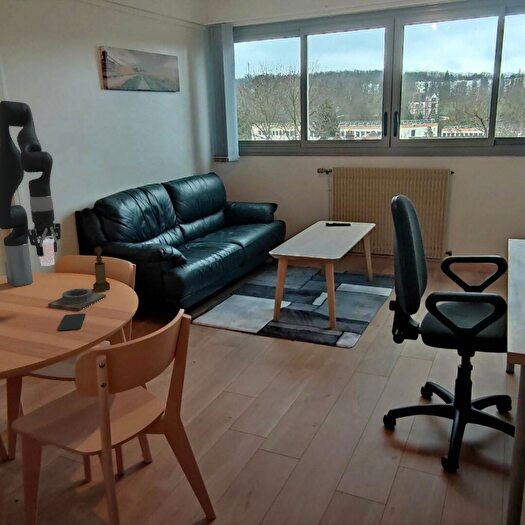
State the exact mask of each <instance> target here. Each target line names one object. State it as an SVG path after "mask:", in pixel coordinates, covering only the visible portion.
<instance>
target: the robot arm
mask: <svg viewBox="0 0 525 525" xmlns="http://www.w3.org/2000/svg"><path fill="white" fill-rule="evenodd" d="M10 127H15V128H21V129H20V130H19V132H18V134H17V135H16V136H17V137H16V142H17V145H18V147H19V149H20V150H19V149H18V147H17V146H16V144H15V142H14V140H13V138H12V136H11V133H10ZM53 163H54V161H53V157H52V155H51V154H50V153H49V152H47V151H43V150H42V146H41V143H40V141H39V138H38V136H37V133H36V126H35V121H34V117H33V114H32V109H31V107H30V106H29V104H27V103H25V102H22V101H21V102H20V101H12V100H0V229H1V230H3V231H4V230H5V231H6V230H11V232H10V233H9V234H8V235H6V236H5V237H4V238H3V247H4V253H5V260H6V261H5V262H4V268H5V275H6V281H7V285H9V286H12V287H23V286H28V285H30V284H32V283H33V282H34V279H33V278H34V277H33V272H32V271H33V270H32V264H31V263H32V262H31V255H30V247H29V243H30V246H32V247H35V249H36V251H35V252H36V256H37V257H39V256H40V257H42V256H44V252H43V246H42V244H43V241H44V240H45V239H46V238H47V239H54V243H53V244H54V253H57V252H58V241H59V240H61V236H62V234H61V223H59V222H58V223H56V222H55V209H54V203H53V202H54V201H53V197H52V192H51V177H52V175H51V174H52V171H53V165H54V164H53ZM25 173H29V174H30V173H41V175H40V176H39V177H37V178H34V179H30V180H29V181H28V193H29V205H30V215H31V221H32V223H33V224H34V226H33V228H32V229H29V218H28V213H27V211H26V208H24V206H23V205H20V204H15V205H12V202H13V199H14V198H13V197H14V195H15V194H16V192H17V191H18V188H20V186H21V183H23V180H24V176H25ZM39 240H40V242H39ZM38 242H39V243H38ZM40 257H39V258H40ZM27 284H28V285H27Z"/></svg>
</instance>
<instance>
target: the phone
mask: <svg viewBox="0 0 525 525" xmlns="http://www.w3.org/2000/svg"><path fill="white" fill-rule="evenodd" d="M85 318H86V313H70V314H65V315H63V317H62V319H61V320H60V323H59V325H58V327H57V332H68V331H69V332H71V331H80V330H81V329H82V326H83V323H84V321H85Z"/></svg>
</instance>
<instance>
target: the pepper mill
mask: <svg viewBox="0 0 525 525" xmlns="http://www.w3.org/2000/svg"><path fill="white" fill-rule="evenodd" d="M93 250H94V254H95V255H96V257H95V259H96V262H95V263H94V270H95V271H94V272H95V282H94V283H93V284H92V289H93V290H92V291H94V292H96V291H98V292H97V293H101V292H100V291H104V292H107V291H106V290H108V291H110V289H111V285H110V282H109V281H107V276H106V275H107V274H106V264H105V262H104V261H102V260H103V256H102V253H103V248H102V247H101V246H95V248H94V249H93Z"/></svg>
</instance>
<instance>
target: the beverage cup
mask: <svg viewBox="0 0 525 525" xmlns="http://www.w3.org/2000/svg"><path fill="white" fill-rule="evenodd" d="M39 242H40V240H39ZM39 242H38V243H39ZM53 243H54V239H49V238H45V240H44V241H43V244H42V246H43V252H44V256H42V257H40V256H38V257H39V262H40V265H41V267H49V266H54V265H55V252H54V244H53Z"/></svg>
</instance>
